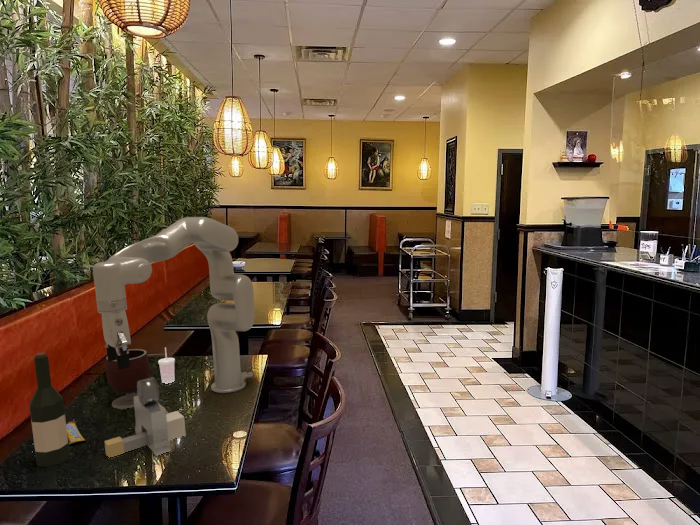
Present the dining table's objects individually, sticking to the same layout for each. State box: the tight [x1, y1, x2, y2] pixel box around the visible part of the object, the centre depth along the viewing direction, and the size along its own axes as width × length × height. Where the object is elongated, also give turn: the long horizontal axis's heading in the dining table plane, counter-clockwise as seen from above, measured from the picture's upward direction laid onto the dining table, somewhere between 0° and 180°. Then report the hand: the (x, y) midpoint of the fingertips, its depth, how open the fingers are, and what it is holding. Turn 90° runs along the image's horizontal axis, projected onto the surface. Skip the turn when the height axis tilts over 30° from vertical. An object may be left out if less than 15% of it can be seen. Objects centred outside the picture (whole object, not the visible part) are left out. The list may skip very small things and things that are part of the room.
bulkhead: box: [133, 376, 172, 457], centre depth 147 cm, size 4×19×19 cm, turn 39°
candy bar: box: [66, 420, 86, 445], centre depth 155 cm, size 17×4×2 cm, turn 37°
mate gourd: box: [104, 345, 151, 410], centre depth 178 cm, size 16×14×20 cm
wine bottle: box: [28, 352, 71, 468], centre depth 139 cm, size 8×8×30 cm
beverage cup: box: [157, 347, 176, 384], centre depth 196 cm, size 6×6×14 cm
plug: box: [104, 410, 187, 459], centre depth 147 cm, size 21×6×6 cm, turn 129°
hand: (118, 364), depth 146 cm, fingers open, 9 cm apart
